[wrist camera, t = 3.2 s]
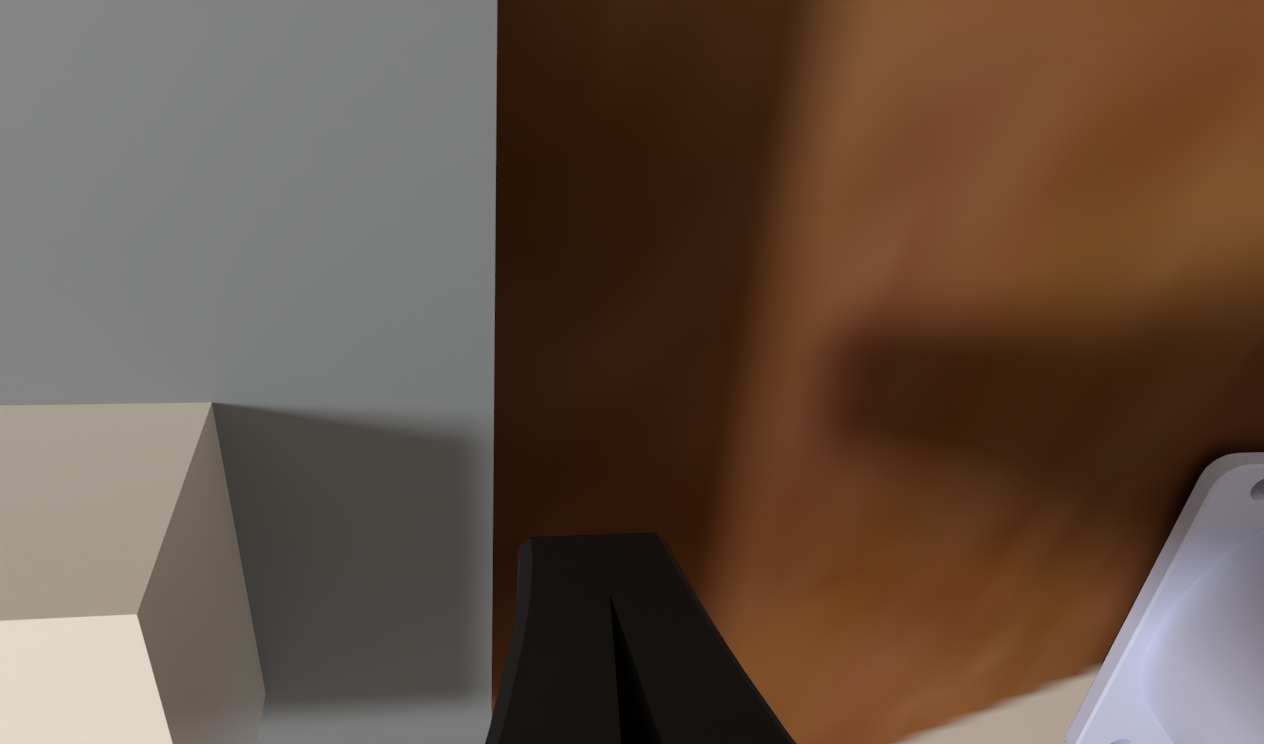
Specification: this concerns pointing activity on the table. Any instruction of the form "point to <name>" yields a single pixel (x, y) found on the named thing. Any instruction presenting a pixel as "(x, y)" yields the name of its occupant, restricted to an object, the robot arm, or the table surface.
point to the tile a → (121, 580)
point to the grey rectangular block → (283, 310)
